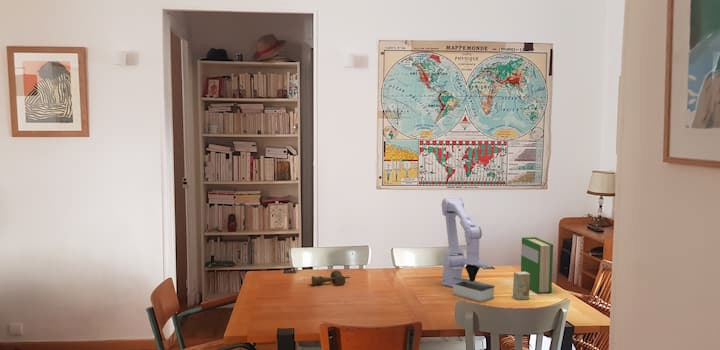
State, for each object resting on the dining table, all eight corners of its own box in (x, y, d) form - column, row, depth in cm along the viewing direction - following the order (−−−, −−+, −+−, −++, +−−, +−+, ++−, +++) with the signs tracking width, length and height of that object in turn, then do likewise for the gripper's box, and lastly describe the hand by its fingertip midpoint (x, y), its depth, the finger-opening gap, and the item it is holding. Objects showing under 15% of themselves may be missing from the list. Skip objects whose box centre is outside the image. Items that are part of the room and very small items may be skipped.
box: (452, 294, 258) (453, 284, 257) (465, 290, 264) (465, 280, 264) (481, 302, 246) (481, 291, 246) (493, 297, 253) (493, 287, 252)
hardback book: (551, 293, 260) (553, 244, 258) (537, 294, 258) (538, 245, 256) (534, 283, 277) (535, 237, 275) (520, 283, 276) (521, 237, 274)
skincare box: (517, 300, 249) (518, 274, 248) (512, 297, 253) (513, 271, 252) (529, 299, 251) (530, 273, 250) (524, 296, 255) (525, 271, 254)
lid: (452, 278, 257) (452, 277, 257) (465, 280, 264) (465, 278, 264) (482, 286, 245) (482, 284, 245) (494, 287, 252) (494, 285, 252)
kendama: (310, 284, 277) (347, 279, 282) (314, 290, 267) (352, 285, 273) (309, 272, 276) (347, 268, 282) (313, 278, 267) (352, 274, 272)
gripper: (490, 253, 250) (490, 282, 251) (465, 248, 261) (464, 276, 262) (482, 255, 245) (481, 285, 246) (456, 250, 256) (455, 279, 257)
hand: (472, 280), depth 254 cm, fingers closed, pressing on lid
